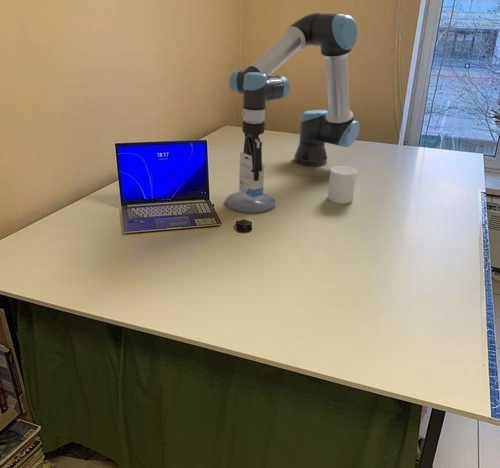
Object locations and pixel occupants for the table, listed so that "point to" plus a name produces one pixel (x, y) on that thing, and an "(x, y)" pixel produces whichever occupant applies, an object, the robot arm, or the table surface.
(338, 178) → the mug
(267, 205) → the dish
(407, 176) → the table surface
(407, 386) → the table surface
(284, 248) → the table surface
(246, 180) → the ink box
